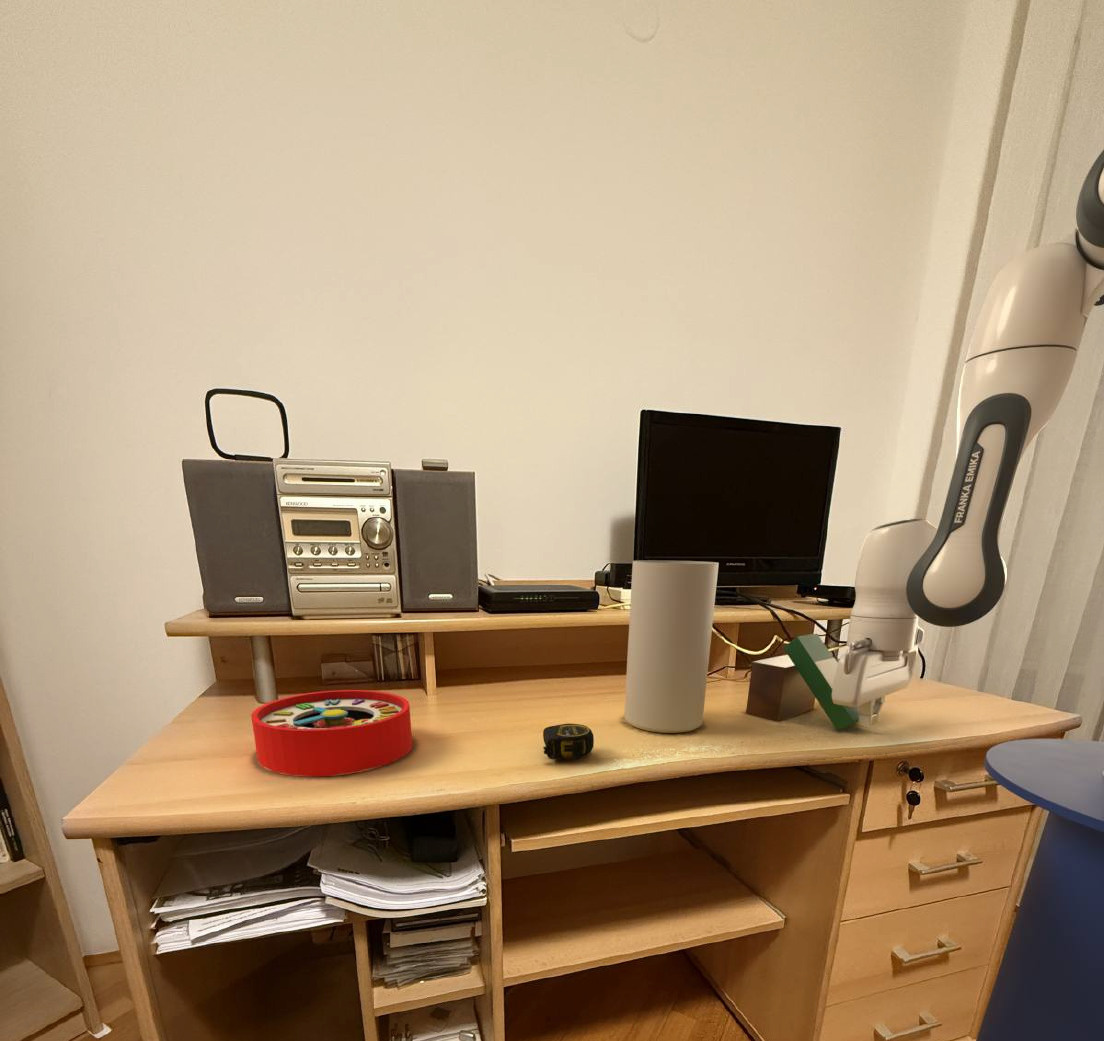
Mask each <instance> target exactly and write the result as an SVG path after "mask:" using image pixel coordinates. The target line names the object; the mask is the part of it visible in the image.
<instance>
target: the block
mask: <svg viewBox="0 0 1104 1041" xmlns="http://www.w3.org/2000/svg"><path fill="white" fill-rule="evenodd" d="M748 685H749V686H748V693H747V700H746V708H745V713H746V714H748V715H752V716H755V717H760V718H763V719H767V720H771V721H775V722H779V721H782V720H786V719H788V718H792V717H794V716H798V715H801V714H803V713H807V712H809V711H810V712H811V711H813V710H814V707H815V703H816V698H815V696H814V694H813V693H812V691H811V690H810V688H809V687H808V685H807V684H806V682H805V681H804V679H803V677H802V676H801V674H800V673H799V671H798V670H797V668H796V667H795V665H794V664H793V662H792V661H791V659H790V657H789V656H788V654H783V655H779V656H778V655H777V656H774V657H769V658H763V659H759V660H755V661H752V662H751V669H750V678H749V684H748Z"/></svg>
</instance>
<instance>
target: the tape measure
mask: <svg viewBox="0 0 1104 1041" xmlns="http://www.w3.org/2000/svg"><path fill="white" fill-rule="evenodd" d="M542 738H543V742H544V743H543V744H544V745H545V746H543V754H544V755H546V756H547V758H548V759H550V760H556V759H565V760H566V759H567V760H575V759H580V758H585V757H587V756H589V755H590V754H591V753H592V752H593V749H594V747H595V746H594V744H595V737H594V733H593V731H592V729H591V728H590V727H589V726H587V725H584V724H579V723H569V722H567V723H562V724H556V725H549V726H547V727H545V728H543V731H542Z"/></svg>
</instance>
